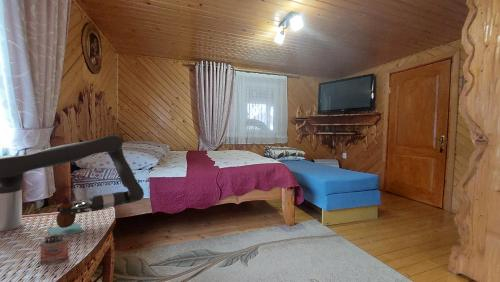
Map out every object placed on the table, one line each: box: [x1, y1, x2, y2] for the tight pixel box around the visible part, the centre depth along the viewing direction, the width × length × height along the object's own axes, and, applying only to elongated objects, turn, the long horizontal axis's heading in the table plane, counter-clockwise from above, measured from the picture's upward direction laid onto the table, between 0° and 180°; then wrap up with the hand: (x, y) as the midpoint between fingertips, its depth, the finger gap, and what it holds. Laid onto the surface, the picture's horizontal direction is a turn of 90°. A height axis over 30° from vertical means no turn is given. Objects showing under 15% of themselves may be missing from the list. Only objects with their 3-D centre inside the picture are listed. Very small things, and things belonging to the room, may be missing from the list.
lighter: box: [39, 233, 70, 266], centre depth 80 cm, size 8×3×10 cm, turn 114°
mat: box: [46, 222, 85, 237], centre depth 102 cm, size 12×11×1 cm
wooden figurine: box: [55, 195, 77, 228], centre depth 102 cm, size 7×6×15 cm
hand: (58, 210), depth 100 cm, fingers closed on wooden figurine, 4 cm apart
